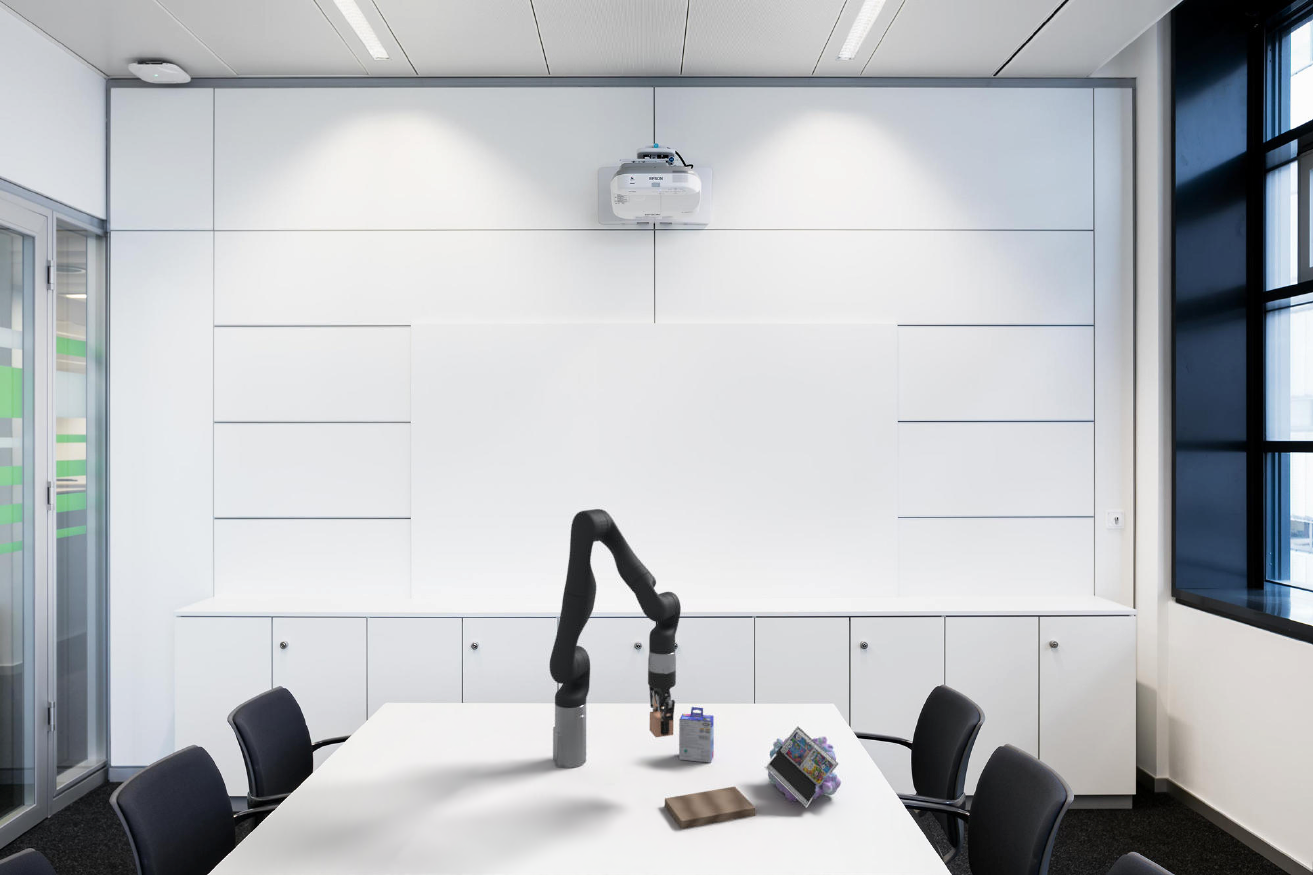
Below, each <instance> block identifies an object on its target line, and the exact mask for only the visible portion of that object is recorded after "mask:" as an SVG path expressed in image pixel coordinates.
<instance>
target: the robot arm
mask: <svg viewBox="0 0 1313 875" xmlns="http://www.w3.org/2000/svg"><path fill="white" fill-rule="evenodd" d="M570 529H571V530H570V540H569V542H570V543H569V556H568V563H567V564H568V566H567V572H566V573H567V574H566V579H565V584H564V591H563V594H562V595H563V596H562V602H561V608H560V609H561V610H560V615H559V621H558V628H557V631H556V636H555V639H554V640H555V641H554V642H553V647H552V651H551V656H550V658H549V674H550V676H551V677H552V679H553V681H555V683H558V684H562V685H561V686H560V687H559V689H558V690H557V691H556V692H555V695H554V727H553V728H552V760H553V762H554V763H555V765H556V767H557V768H576V767H577V768H578V767H580V766H583V765H584V764H585V763H586V761H587V698H588V695H589V692H590V684H591V682H590V679H591V661H590V660H591V659H590V655H589V653H588V651H587V650H586V649H585V648H584V647H583V646H580V645H578V641H579V639H580V635H581V634H582V632H583V630H584V628H585V627H586V625H587V623H588V621H589V619H590V617H591V615H592V613H593V610H594V608H595V607H594V606H595V601H596V594H597V582H596V579H595V578H596V577H595V575H594V572H593V568H592V564H591V562H592V561H591V560H592V559H591V557H592V553H593V552H592V551H593V545H594V543H596V542H600V543H602V544H603V545H604V546H605V548H607V549H608V550H609V552H610V553H611V555H612V556H613V560H614V563H615V566H616V570H617V572H618V574H619V576H620V578H621V579H622V581H623V582H624V583H625V584H626V585H627V586H628V587H629V589H630V590H631V591H632V592H633V593H634V595H635V597H636V599H637V602H638V604H639V606H640V608H641V610H642V612H643V614H644V615H645V616H646V617H647V618H648V619H649V620H651V621H652V622H654V623H655V622H656V625H655V626H654V627H653V628H652V629H651V631H650V632H649V637H648V638H649V641H648V642H649V645H648V647H649V648H648V650H649V651H648V658H647V659H648V660H647V661H648V662H647V684H648V688H649V702H650V704H649V706H650V708H651V709H652V712H654V711H659V712H660V717H661V734H662V735H668V734H669V721H673V722H674V718H673V716H674V715H675V714H674V713H675V704H676V702H675V699H672V694H671V688H673V687H676V683H677V682H676V681H677V680H676V679H677V672H676V671H677V656H676V634H677V630H678V627H679V622H680V618H681V617H680V616H681V610H682V609H681V601H680V599H679V597H678V596H677V594H675V593H674V592H671V591H664V592H661V593H658V592H657V591H656V590H655V587H656V584H657V580H656V578H655V576H654V575H653V574H652V573H651V572H650V571H649V569H648V568H647V567H646V565H644V563H643V562H642V561H641V560H640V559H639V558H638V556H637V555H636V553H634V551H633V549H632V548H631V546H630V545H629V544H628V542H627V540H626V539H625V537H624V535H623V534H622V532H621V530H620V529H619V527H618V525H617V524H616V522H615V521H614V519H613V518H612V516H611V515H610V514H609V513H608V511H606V510H604V509H603V508H602V509H600V508H595V509H586V510H585V509H584V510H581V511H579V512H577V513H576V514H575V515H574V517H573V519H572V522H571V527H570ZM663 712H664V713H663Z"/></svg>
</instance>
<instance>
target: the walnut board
mask: <svg viewBox="0 0 1313 875" xmlns="http://www.w3.org/2000/svg"><path fill="white" fill-rule="evenodd" d="M664 807H665V809H666V810H667V811H668V813H669V814H670V816H671V817H672V818H673V819H674V821H675V822H676V824H677V825H678V826H679V828H680V829H681V830H684V829H691V828H695V827H701V826H706V825H707V826H708V825H711V824H717V823H722V822H727V821H734V820H738V819H745V818H750V817H755V816H756V807H755V806H754V805H753V804H752V803H751V801H749V800H748V799H747V797H746V796H745V795H744V794H743V793H742V792H741V791H740V790H739V789H738V788H737V787H736V786H728V787H723V788H719V789H718V788H717V789H712V790H706V791H700V792H694V793H688V794H684V795H676V796H670V797H667V798H666V797H665V798H664Z"/></svg>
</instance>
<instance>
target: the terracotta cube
mask: <svg viewBox="0 0 1313 875" xmlns="http://www.w3.org/2000/svg"><path fill="white" fill-rule="evenodd" d="M663 713H664V712H663ZM673 719H674V716H673ZM649 731H650V732H651V734H652V736H654V737H655V738H662V737H669V736H670V737H671V736H674V720H673V721H669V734H668V735H662V734H661V717H660V712H659V711H654V712H653V711H650V712H649Z"/></svg>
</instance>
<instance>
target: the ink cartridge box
mask: <svg viewBox="0 0 1313 875" xmlns="http://www.w3.org/2000/svg"><path fill="white" fill-rule="evenodd" d="M696 710H697V711H699V712H694V711H696ZM714 717H715V716H714V715H711V714H704V708H703V707H696V706H695V707H694V706H691V710H690V713H682V714H681V716H680V718H679V720H678V721H679V724H678V727H679V728H678V729H679V730H678V732H679V733H678V737H679V738H678V740H679V741H678V742H679V744H678V746H679V748H678V751H679V752H678V760H680V761H690V762H691V761H692V762H701V763H712V761H713V759H714V755H715V754H714V753H715V751H714V747H715V746H714V742H715V741H714V734H715V733H714V730H715V729H714V724H715V723H714V719H715V718H714Z"/></svg>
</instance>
